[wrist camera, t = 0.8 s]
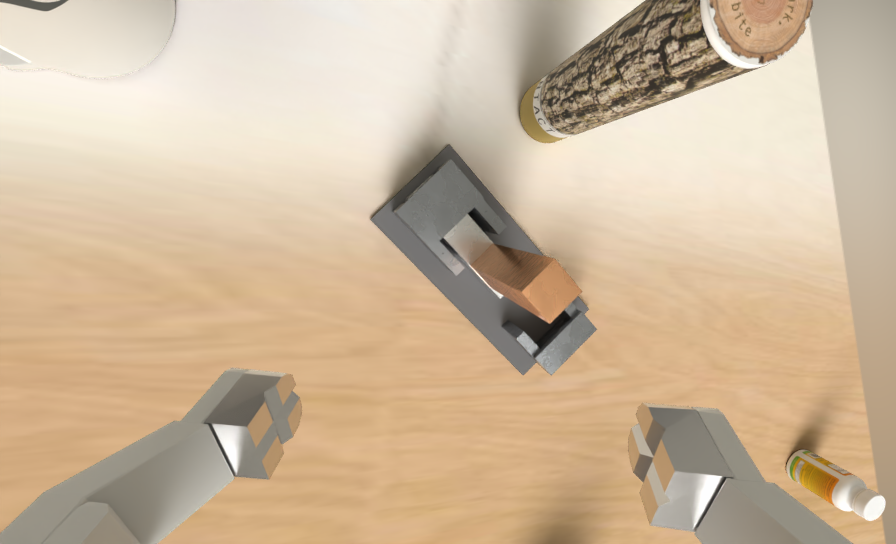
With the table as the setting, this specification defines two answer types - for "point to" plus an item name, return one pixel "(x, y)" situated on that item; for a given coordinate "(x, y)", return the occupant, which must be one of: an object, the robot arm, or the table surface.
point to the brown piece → (512, 270)
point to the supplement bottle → (834, 484)
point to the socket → (555, 338)
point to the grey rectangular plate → (466, 286)
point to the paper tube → (660, 60)
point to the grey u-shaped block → (446, 211)
